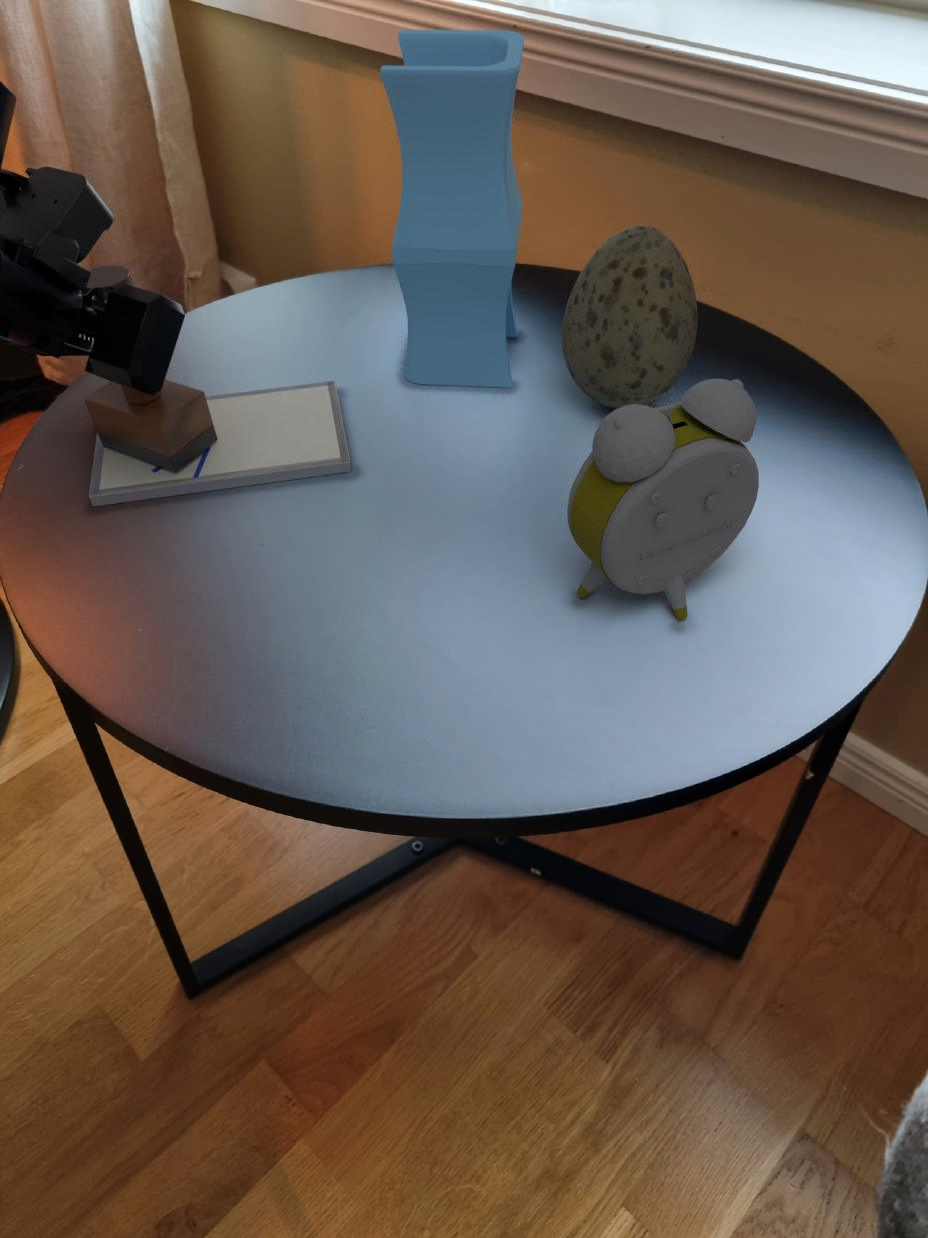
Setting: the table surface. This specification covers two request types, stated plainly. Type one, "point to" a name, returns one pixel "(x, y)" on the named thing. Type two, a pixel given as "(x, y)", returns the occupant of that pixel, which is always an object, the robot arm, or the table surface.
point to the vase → (457, 202)
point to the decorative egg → (630, 319)
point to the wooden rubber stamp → (149, 409)
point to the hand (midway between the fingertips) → (144, 352)
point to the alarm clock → (665, 490)
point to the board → (239, 447)
